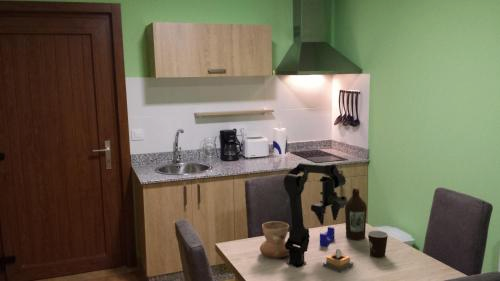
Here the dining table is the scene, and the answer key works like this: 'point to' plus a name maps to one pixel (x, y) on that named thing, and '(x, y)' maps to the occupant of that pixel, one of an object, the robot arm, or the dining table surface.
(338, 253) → the post
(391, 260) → the dining table surface
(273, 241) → the ceramic jug
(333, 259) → the wooden square frame
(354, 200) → the brown bottle
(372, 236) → the coffee mug
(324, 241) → the cable clip
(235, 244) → the dining table surface
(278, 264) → the dining table surface
